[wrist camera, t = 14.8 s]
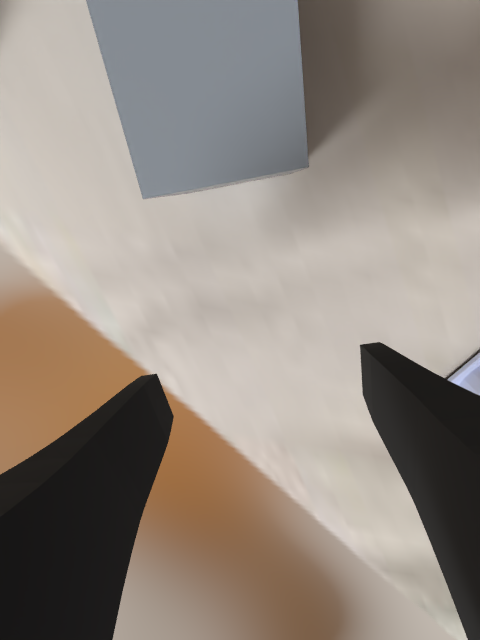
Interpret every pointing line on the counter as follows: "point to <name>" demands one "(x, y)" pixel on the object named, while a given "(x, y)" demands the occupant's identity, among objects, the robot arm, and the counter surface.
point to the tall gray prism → (205, 89)
